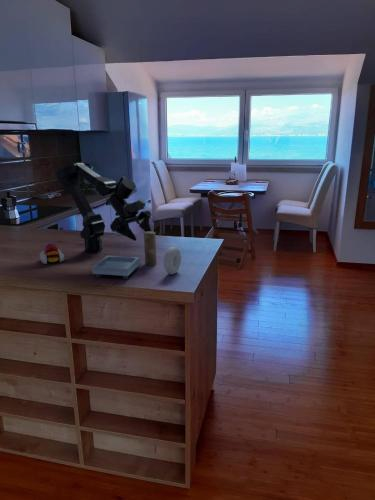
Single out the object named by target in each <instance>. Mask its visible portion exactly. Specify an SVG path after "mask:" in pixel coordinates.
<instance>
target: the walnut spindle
mask: <svg viewBox="0 0 375 500" xmlns="http://www.w3.org/2000/svg"><path fill="white" fill-rule="evenodd" d="M156 233H157V232H156V231H153V230H151V231H148V232H145V231H144V232H143V243H144V264H145V266H148V267H153V266H156V265H157V264H158V263H157V240H156V239H157V238H156V237H157V236H156Z"/></svg>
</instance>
